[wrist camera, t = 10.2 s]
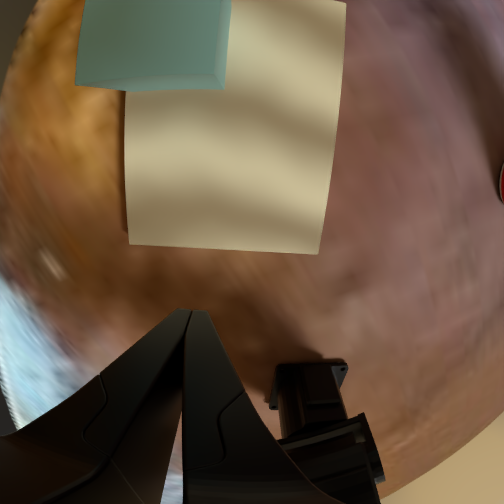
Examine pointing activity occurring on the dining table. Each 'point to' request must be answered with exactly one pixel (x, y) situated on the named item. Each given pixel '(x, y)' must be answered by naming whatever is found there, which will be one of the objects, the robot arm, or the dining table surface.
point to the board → (243, 138)
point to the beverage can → (502, 184)
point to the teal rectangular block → (153, 44)
